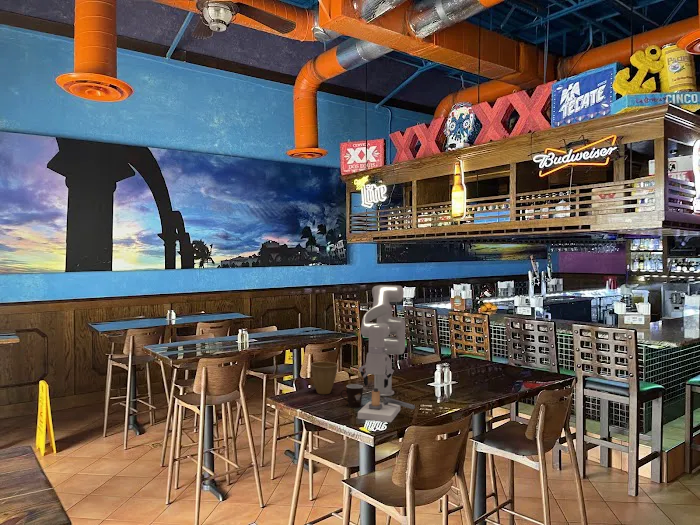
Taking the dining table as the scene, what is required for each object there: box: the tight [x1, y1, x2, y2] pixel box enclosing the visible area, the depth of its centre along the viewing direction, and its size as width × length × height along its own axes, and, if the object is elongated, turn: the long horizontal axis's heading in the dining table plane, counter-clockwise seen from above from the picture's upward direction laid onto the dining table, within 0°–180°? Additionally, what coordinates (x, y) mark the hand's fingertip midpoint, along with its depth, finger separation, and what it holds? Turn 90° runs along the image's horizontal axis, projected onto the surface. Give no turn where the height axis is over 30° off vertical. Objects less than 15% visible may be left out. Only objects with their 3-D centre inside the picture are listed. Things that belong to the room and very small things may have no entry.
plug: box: [369, 387, 382, 410], centre depth 253 cm, size 6×6×12 cm
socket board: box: [357, 400, 401, 423], centre depth 253 cm, size 20×16×3 cm
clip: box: [382, 396, 416, 410], centre depth 254 cm, size 19×2×3 cm, turn 42°
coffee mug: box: [339, 383, 364, 409], centre depth 267 cm, size 12×9×10 cm
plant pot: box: [310, 361, 339, 395], centre depth 291 cm, size 15×15×16 cm
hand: (375, 386), depth 253 cm, fingers open, 9 cm apart
